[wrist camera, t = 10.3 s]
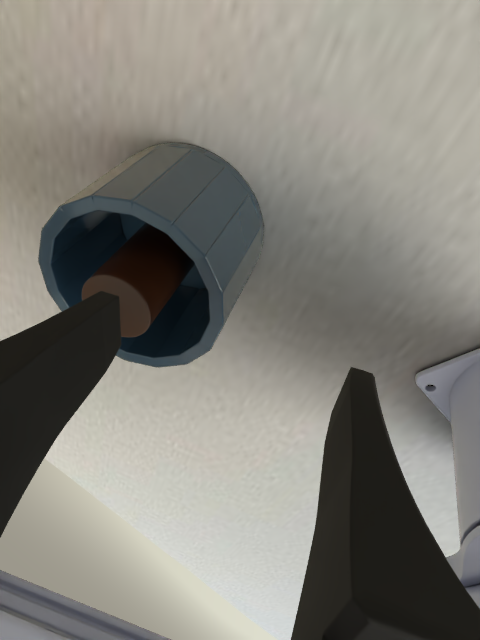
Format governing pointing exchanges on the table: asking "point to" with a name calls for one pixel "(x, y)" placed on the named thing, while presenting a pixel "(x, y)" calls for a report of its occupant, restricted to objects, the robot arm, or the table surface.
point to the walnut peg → (141, 277)
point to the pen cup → (180, 225)
